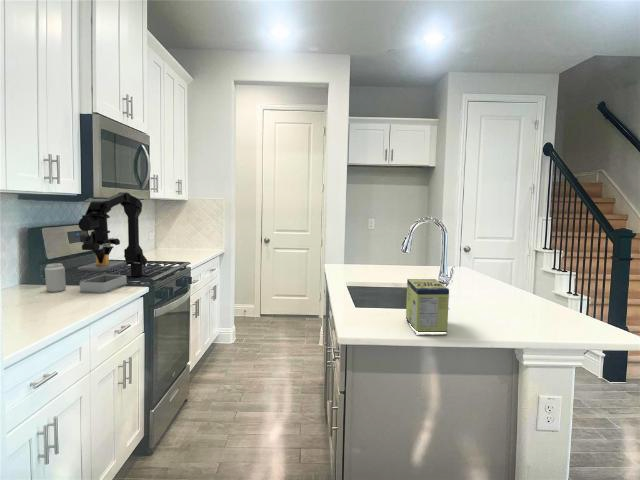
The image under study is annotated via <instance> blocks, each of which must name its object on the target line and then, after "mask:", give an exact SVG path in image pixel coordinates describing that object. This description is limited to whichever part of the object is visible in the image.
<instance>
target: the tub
mask: <svg viewBox="0 0 640 480" xmlns="http://www.w3.org/2000/svg"><path fill="white" fill-rule="evenodd" d="M127 284H128V283H127V275H123V274H121V275H120V274H103V273H102V274H100V275H97V276H94V277H91V278H87V279H85V280H82V281H79V292H80V293H93V294H94V293H95V294H107V293H109V292H111V291H114V290H117V289H119V288H123V287H124V286H127Z"/></svg>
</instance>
